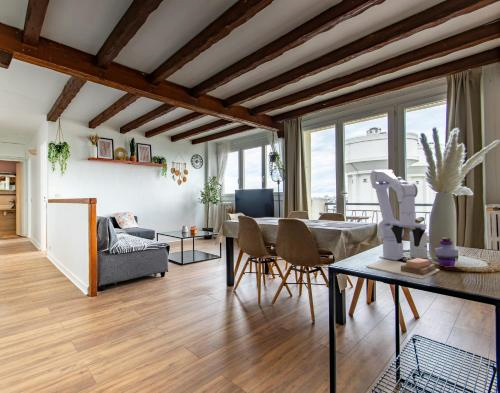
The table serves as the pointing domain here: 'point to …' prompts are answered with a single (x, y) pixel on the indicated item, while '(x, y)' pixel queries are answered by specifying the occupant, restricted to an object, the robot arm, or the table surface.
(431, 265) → the tray
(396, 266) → the mat
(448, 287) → the table surface
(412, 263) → the salmon orange block
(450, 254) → the potion bottle
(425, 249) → the skincare box
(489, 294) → the table surface
